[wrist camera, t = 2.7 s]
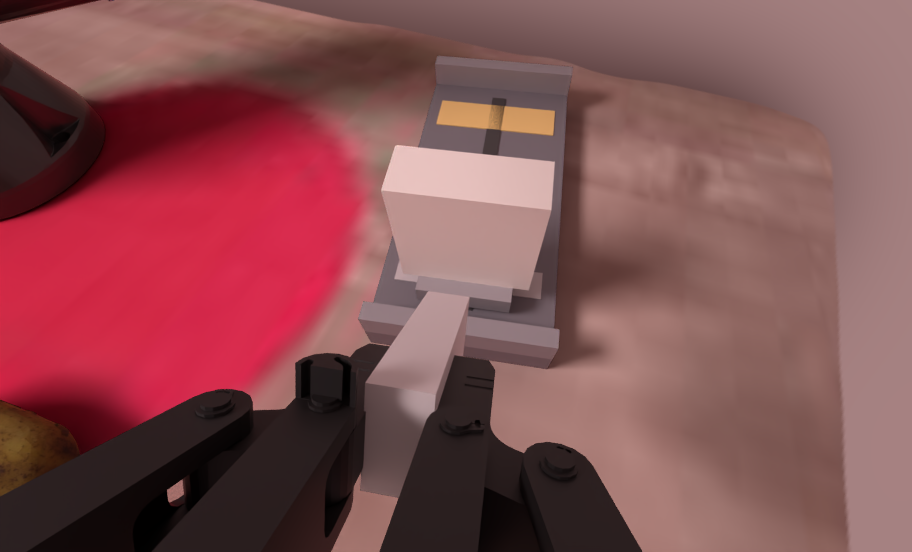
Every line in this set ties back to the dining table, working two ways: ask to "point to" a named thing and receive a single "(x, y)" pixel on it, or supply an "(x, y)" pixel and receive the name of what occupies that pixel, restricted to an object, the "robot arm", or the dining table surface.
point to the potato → (30, 446)
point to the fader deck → (501, 134)
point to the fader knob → (468, 221)
